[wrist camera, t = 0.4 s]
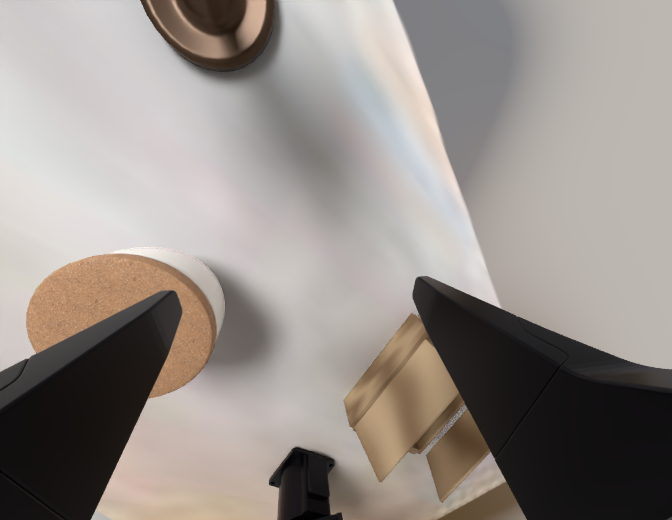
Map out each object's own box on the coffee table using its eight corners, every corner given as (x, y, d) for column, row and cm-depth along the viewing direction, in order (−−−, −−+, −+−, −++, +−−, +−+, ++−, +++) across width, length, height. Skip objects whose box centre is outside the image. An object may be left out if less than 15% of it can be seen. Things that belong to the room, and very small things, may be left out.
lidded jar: (173, 355, 25) (104, 448, 16) (87, 275, 21) (-64, 336, 12) (260, 301, 25) (239, 364, 16) (187, 211, 21) (107, 226, 12)
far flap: (426, 455, 29) (428, 456, 29) (439, 500, 24) (442, 502, 24) (493, 379, 27) (495, 380, 27) (523, 412, 22) (526, 413, 22)
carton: (406, 429, 33) (419, 455, 30) (342, 401, 30) (348, 428, 27) (474, 349, 31) (496, 368, 28) (413, 310, 28) (429, 327, 24)
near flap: (381, 482, 22) (379, 482, 22) (355, 427, 26) (354, 427, 26) (469, 381, 20) (467, 381, 20) (426, 339, 24) (425, 339, 24)
